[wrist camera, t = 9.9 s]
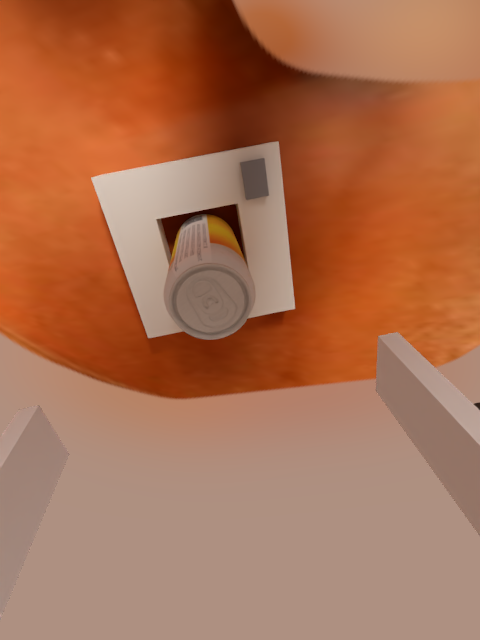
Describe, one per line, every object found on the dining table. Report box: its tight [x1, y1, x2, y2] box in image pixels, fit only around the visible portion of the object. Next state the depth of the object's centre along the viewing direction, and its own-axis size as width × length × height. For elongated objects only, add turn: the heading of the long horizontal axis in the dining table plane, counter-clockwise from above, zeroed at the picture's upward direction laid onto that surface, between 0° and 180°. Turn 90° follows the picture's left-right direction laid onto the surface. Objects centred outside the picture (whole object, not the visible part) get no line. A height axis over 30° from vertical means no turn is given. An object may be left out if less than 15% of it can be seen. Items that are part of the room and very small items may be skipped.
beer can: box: [164, 214, 256, 340], centre depth 28 cm, size 6×6×15 cm
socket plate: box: [91, 142, 295, 338], centre depth 32 cm, size 16×16×4 cm
